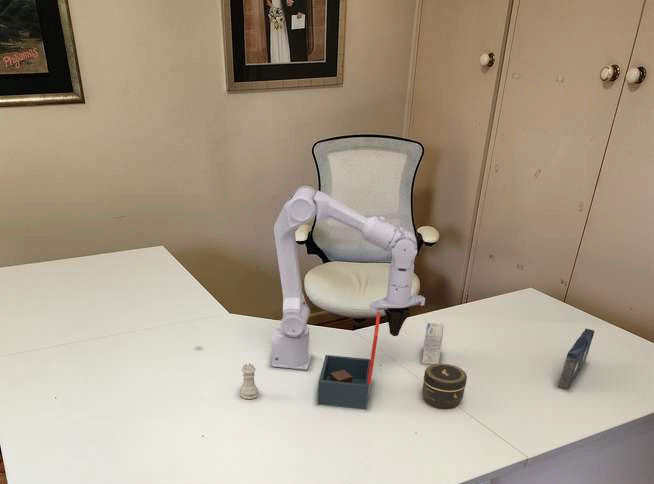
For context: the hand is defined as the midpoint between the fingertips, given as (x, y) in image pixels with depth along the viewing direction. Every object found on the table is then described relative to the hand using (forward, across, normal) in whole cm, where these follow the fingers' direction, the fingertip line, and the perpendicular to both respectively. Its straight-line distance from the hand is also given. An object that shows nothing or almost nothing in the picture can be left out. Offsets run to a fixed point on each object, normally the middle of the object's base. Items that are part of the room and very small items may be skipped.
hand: (393, 334), depth 157 cm
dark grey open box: (+10, +16, +6) cm, 20 cm away
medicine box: (+11, -14, -2) cm, 18 cm away
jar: (+11, -4, +17) cm, 21 cm away
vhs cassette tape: (+11, -45, +18) cm, 50 cm away
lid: (-3, +11, +9) cm, 15 cm away
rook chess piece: (+11, +38, 0) cm, 40 cm away
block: (+10, +17, +6) cm, 20 cm away
